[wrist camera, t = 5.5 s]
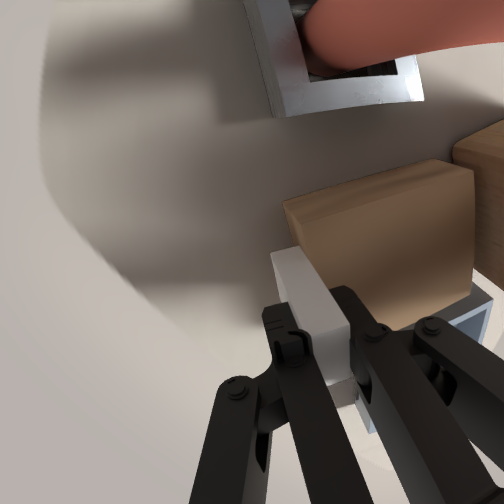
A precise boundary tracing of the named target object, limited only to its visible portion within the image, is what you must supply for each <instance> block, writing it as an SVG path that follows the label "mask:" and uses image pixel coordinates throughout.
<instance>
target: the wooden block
mask: <svg viewBox="0 0 504 504" xmlns="http://www.w3.org/2000/svg"><path fill="white" fill-rule="evenodd" d="M452 157H453V161H454V165H457V166H460V167H463V168H467V169H470V170H473V171H474V186H475V244H474V261H473V268H474V269H475V270H477V271H478V272H479V273H481V274H482V275H483V276H485V277H486V278H487V279H489V280H490V281H491V282H493V283H494V284H495V285H496V286H498V287H499V288H500V289H501V290H503V291H504V119H503V120H501V121H499V122H497V123H495V124H493V125H491V126H488V127H486V128H484V129H482V130H480V131H478V132H476V133H474V134H472V135H470V136H468V137H466V138H464V139H462V140H460V141H457V142H456V143H455V145H454V146H453V151H452Z"/></svg>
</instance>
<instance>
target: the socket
mask: <svg viewBox="0 0 504 504" xmlns="http://www.w3.org/2000/svg"><path fill="white" fill-rule="evenodd" d="M317 1H318V0H243V3H244V7H245V10H246V14H247V18H248V21H249V25H250V28H251V32H252V36H253V40H254V43H255V47H256V51H257V55H258V59H259V62H260V66H261V70H262V74H263V78H264V82H265V86H266V91H267V95H268V99H269V103H270V107H271V112H272V116H273V118H283V117H291V116H297V115H302V114H308V113H314V112H320V111H327V110H333V109H341V108H348V107H356V106H364V105H374V104H384V103H395V102H409V101H424V96H423V90H422V85H421V79H420V74H419V69H418V65H417V60H416V56H415V55H411V56H406V57H402V58H398V59H393V60H389V61H385V62H381V63H377V64H373V65H370V66H366V68H367V72H368V77H355V78H344V79H334V80H325V81H317V82H310V80H309V76H308V72H307V68H306V64H305V60H304V56H303V52H302V48H301V44H300V40H299V37H298V33H297V29H296V26H295V22H294V19H293V15H292V12H291V10H303V9H310V8H311V7H312V6H313V5H314V4H315V3H316V2H317Z"/></svg>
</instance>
